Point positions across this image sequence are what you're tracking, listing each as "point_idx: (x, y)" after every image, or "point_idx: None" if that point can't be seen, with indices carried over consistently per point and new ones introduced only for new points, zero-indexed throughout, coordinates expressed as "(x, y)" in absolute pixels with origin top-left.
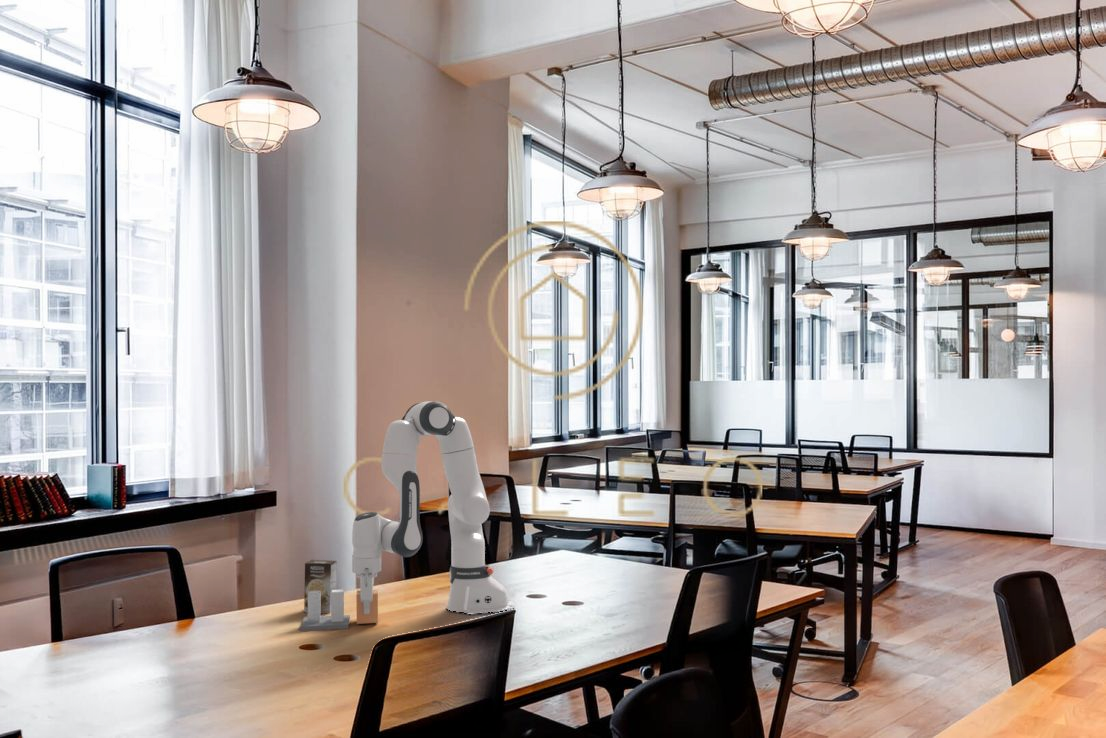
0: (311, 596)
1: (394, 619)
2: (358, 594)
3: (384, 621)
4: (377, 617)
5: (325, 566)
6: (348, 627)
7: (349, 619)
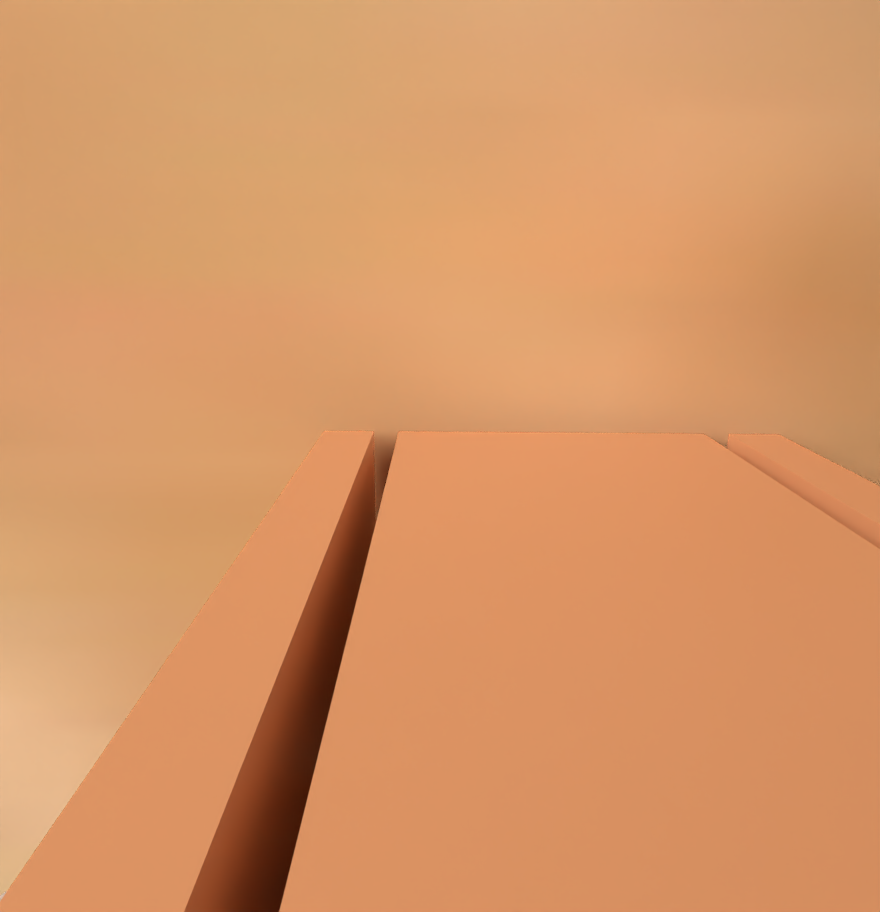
0: None
1: (352, 36)
2: None
3: (492, 281)
4: (835, 475)
5: None
6: None
7: None
